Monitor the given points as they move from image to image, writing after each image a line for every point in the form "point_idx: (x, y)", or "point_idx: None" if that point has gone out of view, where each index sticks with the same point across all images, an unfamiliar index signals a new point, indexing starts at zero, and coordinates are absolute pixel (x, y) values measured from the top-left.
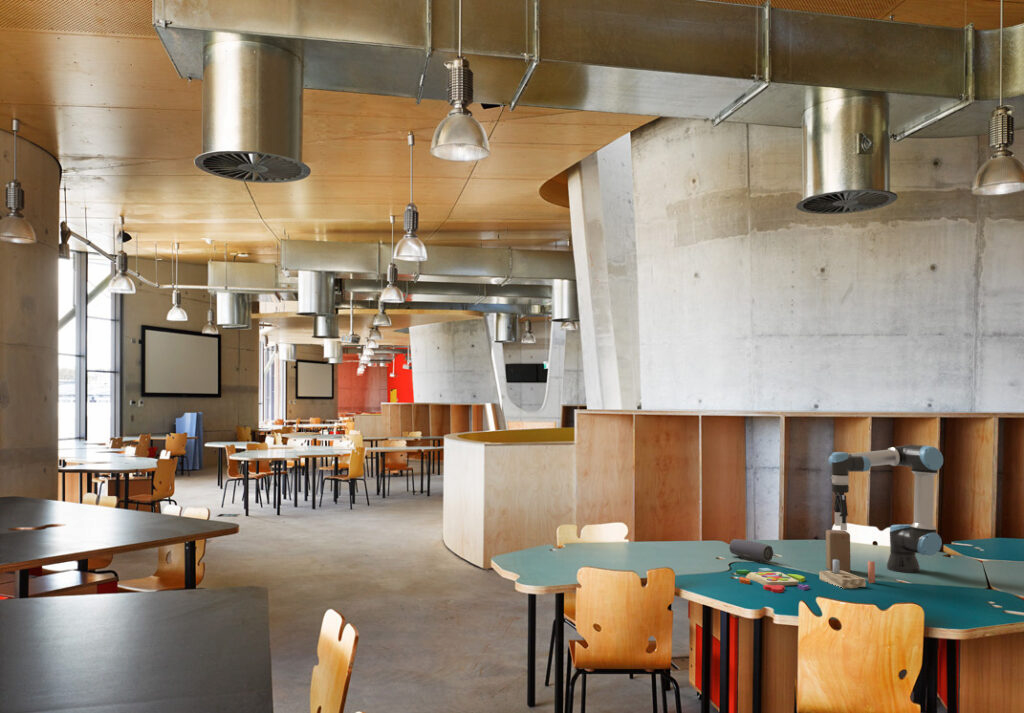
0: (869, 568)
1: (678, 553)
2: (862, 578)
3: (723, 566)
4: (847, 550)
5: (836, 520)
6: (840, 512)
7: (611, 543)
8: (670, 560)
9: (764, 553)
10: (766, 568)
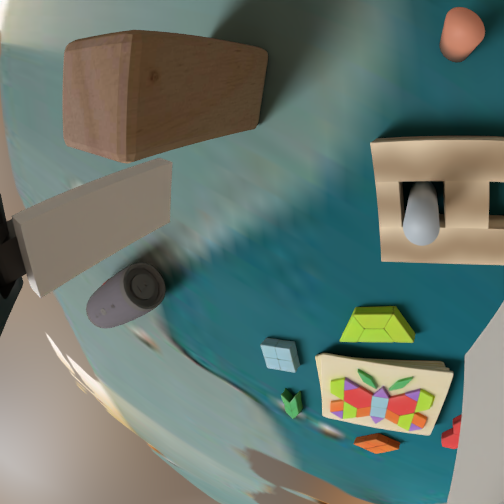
0: (471, 50)
1: (136, 374)
2: None
3: (221, 386)
4: (209, 53)
5: (124, 232)
6: (13, 218)
7: (114, 399)
8: (191, 419)
9: (149, 297)
10: (267, 351)
